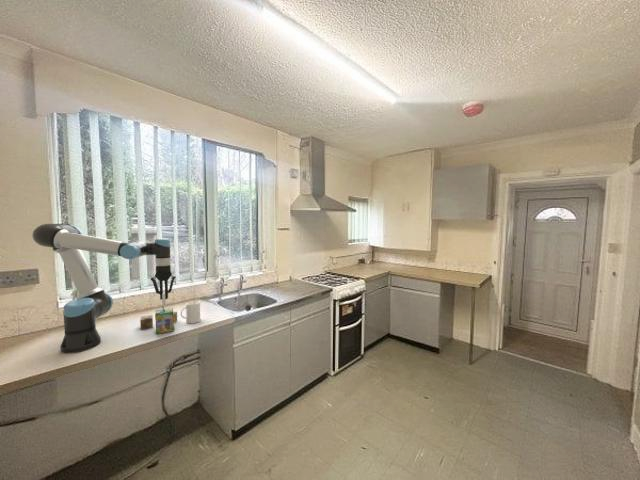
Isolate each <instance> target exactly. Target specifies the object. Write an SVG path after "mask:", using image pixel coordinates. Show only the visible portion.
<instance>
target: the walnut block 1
mask: <svg viewBox="0 0 640 480" xmlns="http://www.w3.org/2000/svg"><path fill="white" fill-rule="evenodd" d="M139 321H140V323H139V324H140V330H147V329H153V328H154V327H153V326H154V324H153V323H154V322H153V321H154V319H153V314H151V315H144V316H140V319H139Z"/></svg>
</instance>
